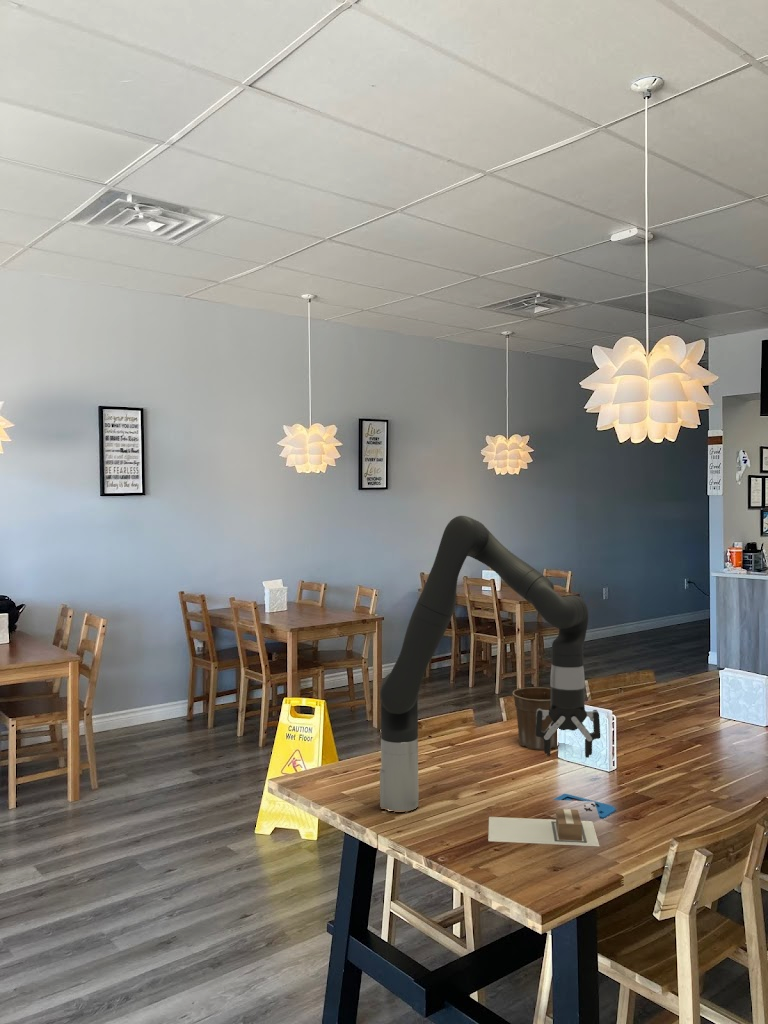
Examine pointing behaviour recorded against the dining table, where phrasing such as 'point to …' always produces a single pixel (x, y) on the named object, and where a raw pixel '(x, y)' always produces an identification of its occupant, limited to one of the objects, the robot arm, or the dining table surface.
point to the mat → (536, 831)
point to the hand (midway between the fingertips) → (567, 756)
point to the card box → (568, 824)
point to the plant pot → (533, 716)
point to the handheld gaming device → (602, 808)
